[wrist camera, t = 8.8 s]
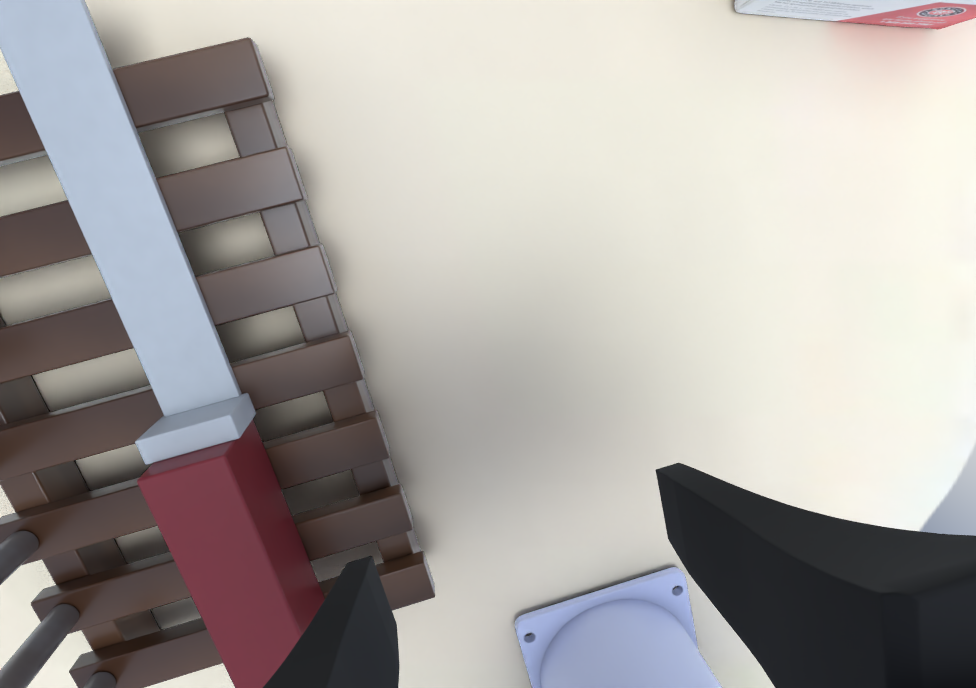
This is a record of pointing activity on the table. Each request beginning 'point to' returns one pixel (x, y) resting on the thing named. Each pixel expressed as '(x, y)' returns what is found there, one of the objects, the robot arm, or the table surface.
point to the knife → (168, 351)
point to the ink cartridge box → (868, 11)
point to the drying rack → (126, 416)
